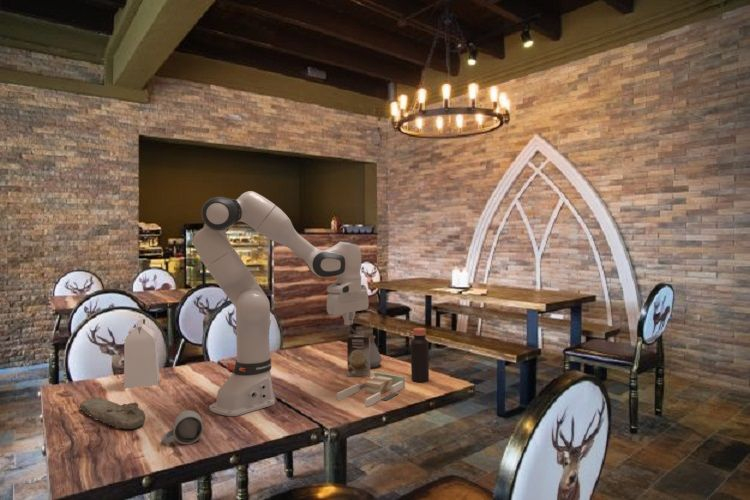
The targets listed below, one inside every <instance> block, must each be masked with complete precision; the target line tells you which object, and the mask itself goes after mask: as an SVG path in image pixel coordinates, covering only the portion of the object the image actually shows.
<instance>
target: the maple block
mask: <svg viewBox="0 0 750 500" xmlns="http://www.w3.org/2000/svg"><path fill="white" fill-rule="evenodd" d="M364 384H365V387H364V389H365V393H367V394H370V395H371V394H372V395H374V394H376V393H378V392H379V393H381V395H383V394H385V393H386V392H389V391H391V386H392V385H393V378H388V377H383V376H378V377H376V378H373V379H371V380H370V379H369V380H367V381H365V382H364Z"/></svg>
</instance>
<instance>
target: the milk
mask: <svg viewBox="0 0 750 500" xmlns="http://www.w3.org/2000/svg"><path fill="white" fill-rule="evenodd" d="M127 334H128V335H127V336H126V337H125V339H124V351H123V353H124V360H123V361H124V363H123V365H124V366H123V368H124V369H123V371H124V372H123V374H124V376H123V390H124V389H126V388H134V387H141V386H152V385H158V386H159V384H158V381H159V382H160V367H159V355H158V353H159V352H158V341H157V333H156V332H155V331H154V330H152V329H151V328H150V327H148V326H147V325H146V324H145V323H144V316H143V317H142V316H141V317H138V319H137V326H135V327H134V326H133V327H131V329H130V330H129V331H128V332H127Z"/></svg>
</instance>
